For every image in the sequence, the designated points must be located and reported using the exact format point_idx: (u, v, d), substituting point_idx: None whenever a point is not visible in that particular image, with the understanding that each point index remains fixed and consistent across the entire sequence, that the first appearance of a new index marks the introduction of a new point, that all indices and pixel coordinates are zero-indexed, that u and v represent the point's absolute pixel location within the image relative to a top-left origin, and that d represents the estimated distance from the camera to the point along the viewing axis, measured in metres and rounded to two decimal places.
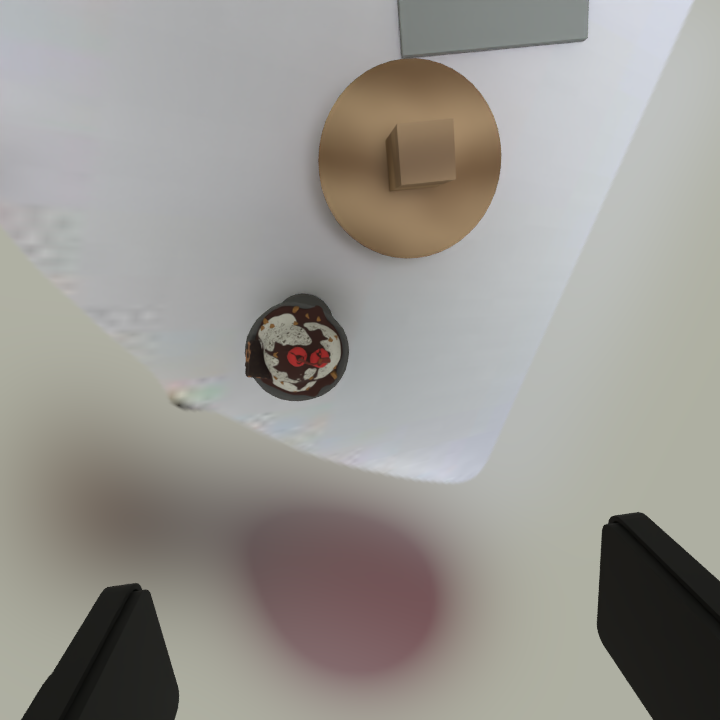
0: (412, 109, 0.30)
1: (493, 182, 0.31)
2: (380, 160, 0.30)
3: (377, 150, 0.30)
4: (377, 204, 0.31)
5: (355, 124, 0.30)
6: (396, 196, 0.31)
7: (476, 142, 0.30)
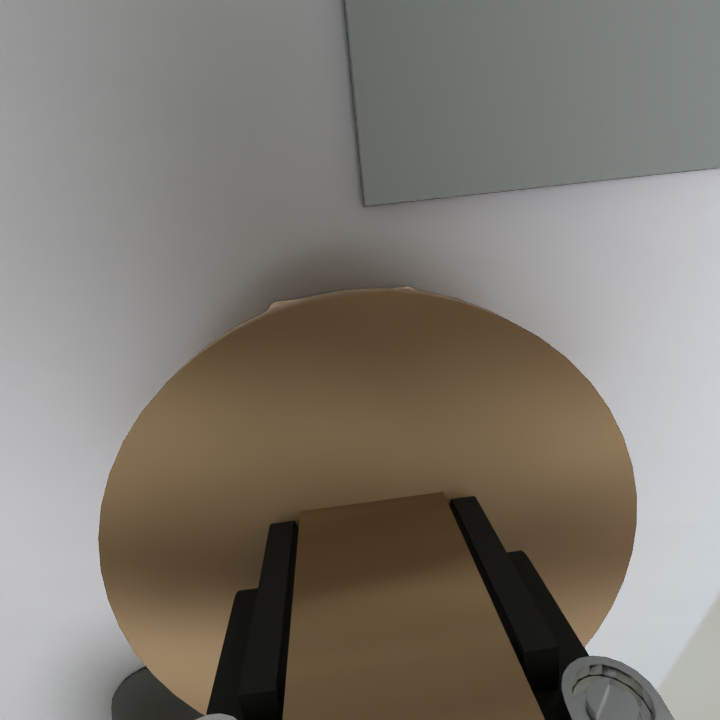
0: (380, 431, 0.10)
1: (609, 586, 0.11)
2: None
3: None
4: None
5: (203, 477, 0.10)
6: None
7: (568, 500, 0.10)
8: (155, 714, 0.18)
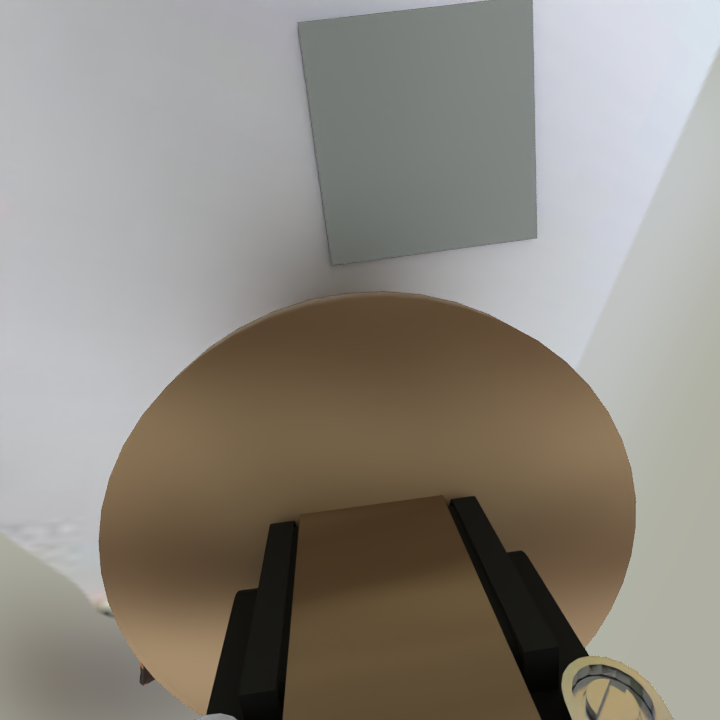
0: (379, 434, 0.10)
1: (608, 589, 0.11)
2: None
3: None
4: None
5: (203, 481, 0.10)
6: None
7: (567, 503, 0.11)
8: None
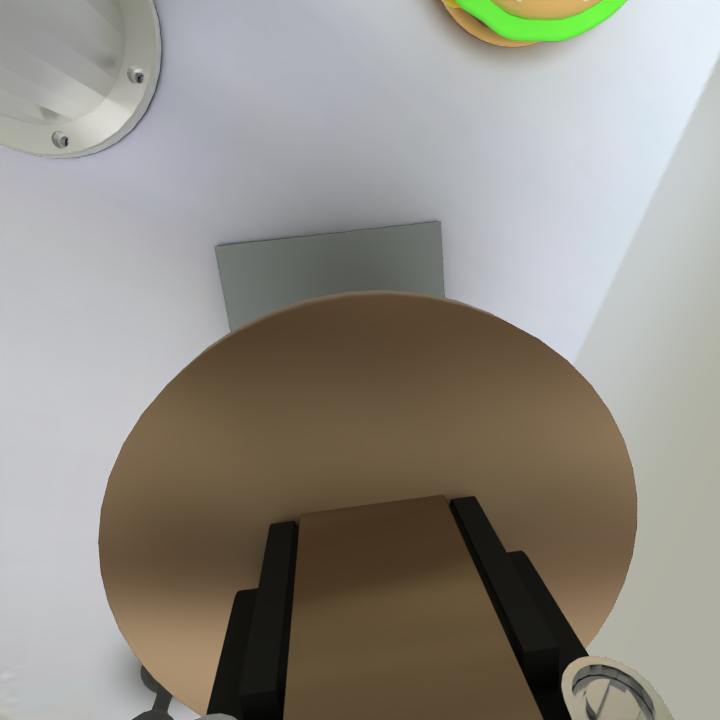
0: (380, 433, 0.10)
1: (609, 589, 0.11)
2: None
3: None
4: None
5: (204, 480, 0.10)
6: None
7: (569, 503, 0.10)
8: None
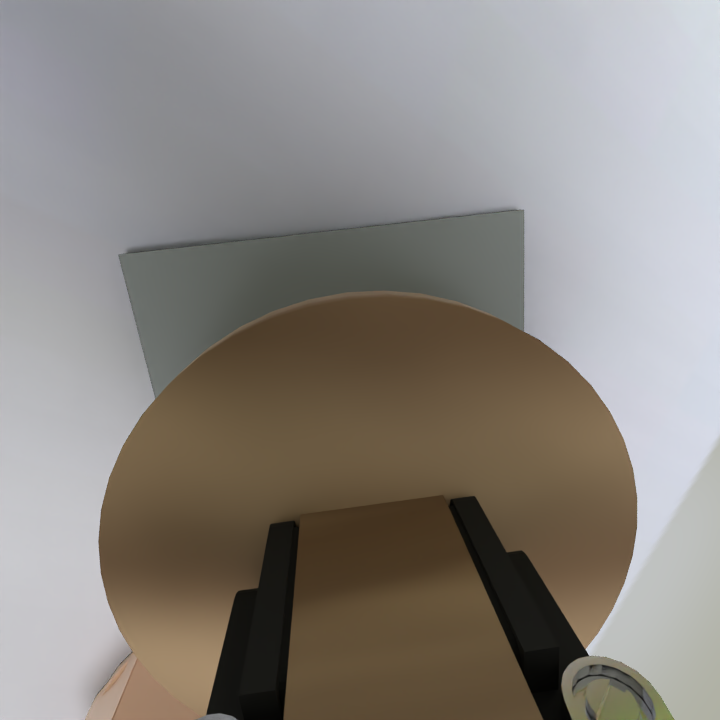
0: (380, 434, 0.10)
1: (609, 589, 0.11)
2: None
3: None
4: None
5: (203, 481, 0.10)
6: None
7: (569, 503, 0.10)
8: None
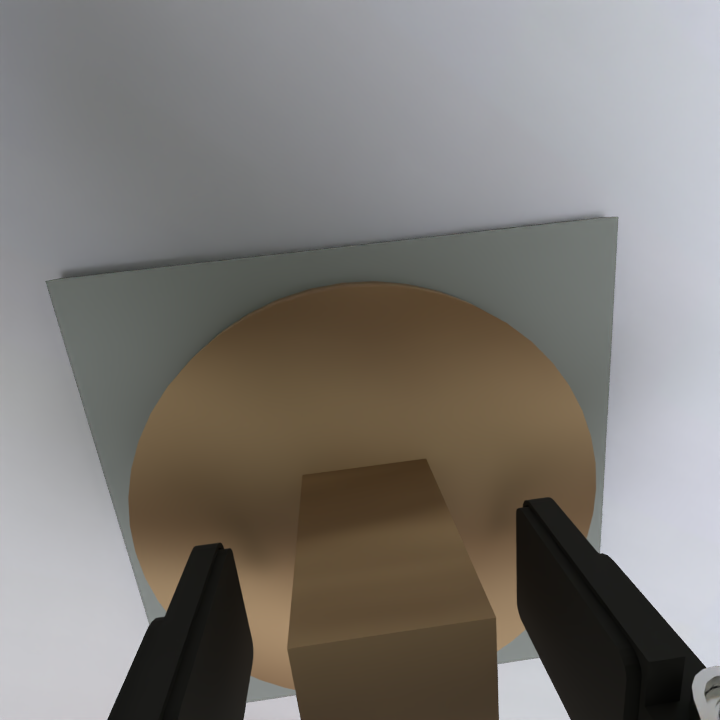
0: (371, 404, 0.11)
1: None
2: (292, 516, 0.12)
3: (283, 496, 0.12)
4: (290, 603, 0.13)
5: (219, 445, 0.11)
6: None
7: (536, 467, 0.12)
8: None
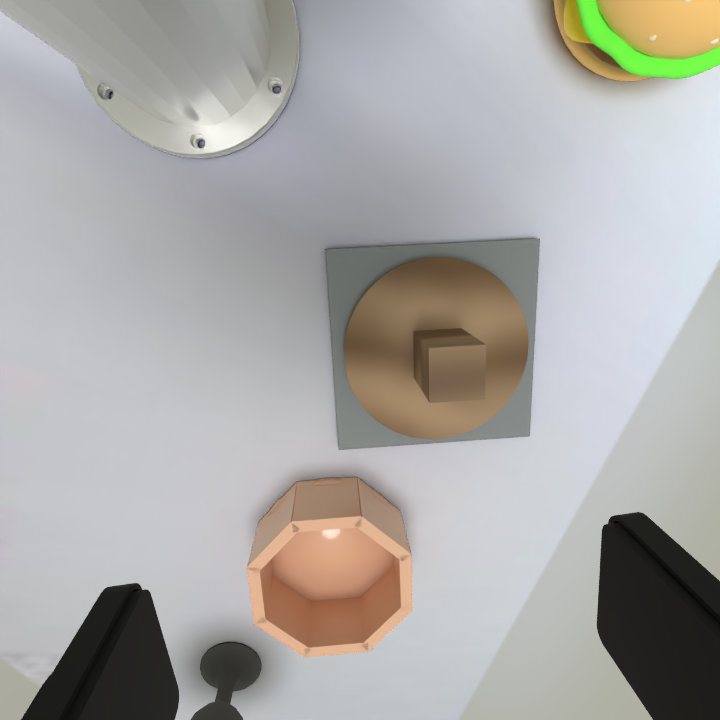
0: (442, 303, 0.29)
1: (519, 372, 0.31)
2: (406, 348, 0.30)
3: (404, 339, 0.30)
4: (400, 388, 0.31)
5: (383, 315, 0.29)
6: None
7: (504, 335, 0.30)
8: (224, 667, 0.36)
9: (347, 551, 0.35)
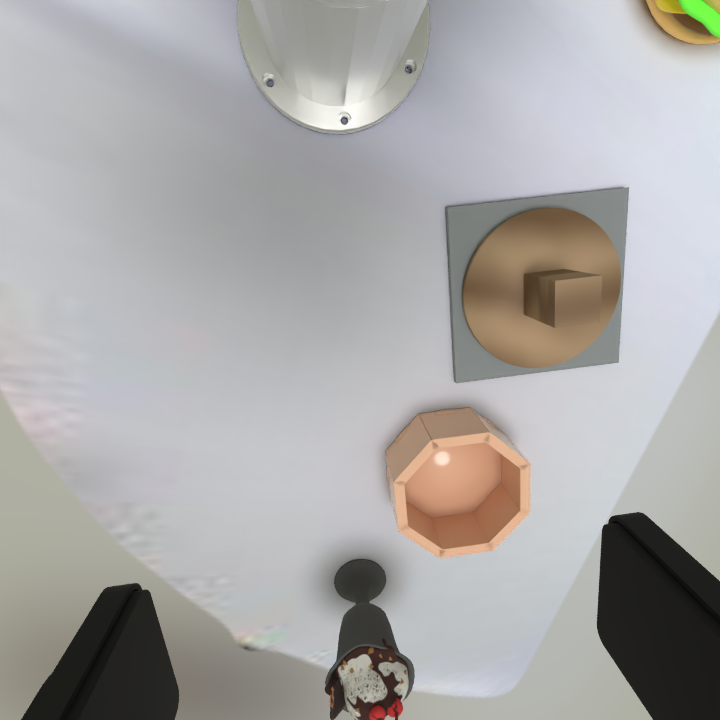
0: (548, 248, 0.34)
1: (612, 305, 0.36)
2: (518, 289, 0.35)
3: (516, 281, 0.35)
4: (512, 325, 0.36)
5: (498, 261, 0.34)
6: (529, 318, 0.36)
7: (600, 273, 0.35)
8: (357, 579, 0.42)
9: (462, 472, 0.40)
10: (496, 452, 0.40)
